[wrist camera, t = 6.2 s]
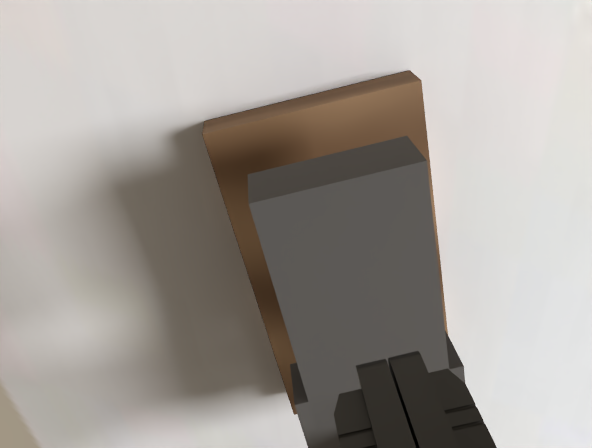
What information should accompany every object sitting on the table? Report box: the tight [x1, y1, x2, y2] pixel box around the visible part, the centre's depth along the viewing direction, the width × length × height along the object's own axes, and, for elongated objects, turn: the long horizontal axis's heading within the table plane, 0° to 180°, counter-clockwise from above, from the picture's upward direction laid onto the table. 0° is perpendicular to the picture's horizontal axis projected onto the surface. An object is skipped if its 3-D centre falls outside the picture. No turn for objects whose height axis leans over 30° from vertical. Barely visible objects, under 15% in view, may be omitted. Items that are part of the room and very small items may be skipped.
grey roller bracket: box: [248, 136, 465, 448], centre depth 19 cm, size 14×6×2 cm, turn 13°
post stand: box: [202, 70, 448, 415], centre depth 16 cm, size 15×8×19 cm, turn 13°
